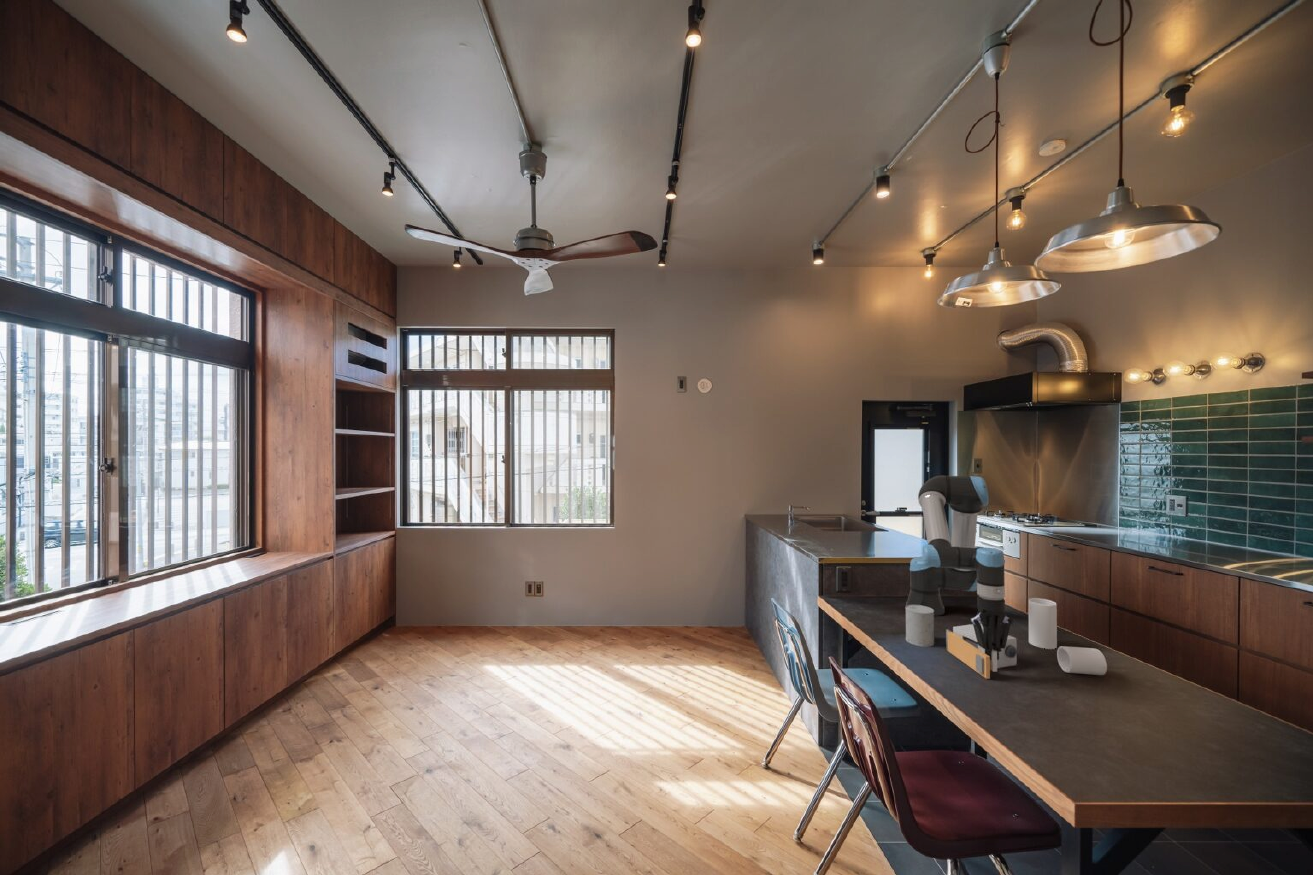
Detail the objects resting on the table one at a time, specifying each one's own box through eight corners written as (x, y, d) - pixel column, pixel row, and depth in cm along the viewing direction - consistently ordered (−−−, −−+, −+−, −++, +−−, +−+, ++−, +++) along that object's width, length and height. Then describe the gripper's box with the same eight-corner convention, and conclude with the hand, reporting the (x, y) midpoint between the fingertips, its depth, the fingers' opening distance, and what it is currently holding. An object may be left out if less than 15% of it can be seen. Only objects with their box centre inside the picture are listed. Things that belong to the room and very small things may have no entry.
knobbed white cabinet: (953, 651, 177) (953, 624, 177) (979, 647, 181) (979, 621, 181) (991, 670, 163) (991, 640, 163) (1019, 665, 166) (1019, 636, 166)
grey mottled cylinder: (927, 636, 191) (927, 604, 191) (938, 647, 182) (938, 613, 182) (901, 635, 192) (901, 604, 192) (911, 646, 182) (911, 612, 182)
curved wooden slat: (943, 649, 179) (943, 629, 179) (949, 649, 179) (949, 629, 179) (983, 678, 157) (983, 655, 157) (990, 678, 157) (990, 655, 157)
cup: (1057, 651, 178) (1057, 606, 178) (1028, 645, 182) (1028, 602, 182) (1056, 643, 184) (1056, 600, 184) (1028, 638, 189) (1028, 596, 189)
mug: (1107, 679, 157) (1107, 654, 157) (1071, 676, 159) (1071, 652, 159) (1082, 662, 168) (1082, 639, 168) (1049, 660, 170) (1049, 637, 170)
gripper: (978, 600, 156) (980, 675, 156) (1019, 600, 156) (1020, 674, 156) (963, 593, 164) (964, 664, 164) (1002, 592, 164) (1003, 663, 164)
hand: (992, 669), depth 160 cm, fingers closed
